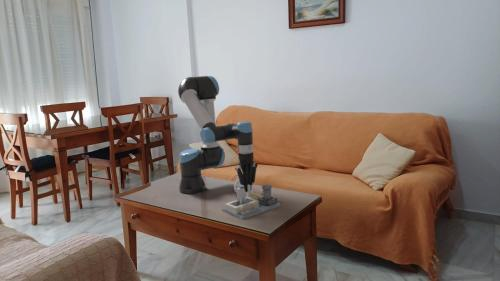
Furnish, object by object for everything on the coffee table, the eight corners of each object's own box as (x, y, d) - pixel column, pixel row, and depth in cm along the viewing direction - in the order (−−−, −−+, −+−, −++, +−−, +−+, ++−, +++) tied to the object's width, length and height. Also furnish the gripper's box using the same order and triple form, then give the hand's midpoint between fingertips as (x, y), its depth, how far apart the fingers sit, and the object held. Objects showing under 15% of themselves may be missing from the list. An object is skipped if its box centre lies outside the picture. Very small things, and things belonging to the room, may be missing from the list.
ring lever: (243, 197, 200) (243, 193, 199) (253, 194, 204) (253, 190, 203) (266, 206, 185) (266, 201, 185) (277, 202, 190) (277, 197, 189)
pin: (236, 208, 186) (234, 188, 184) (242, 205, 188) (240, 186, 187) (241, 209, 183) (239, 189, 181) (247, 207, 185) (246, 187, 184)
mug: (240, 198, 202) (238, 180, 201) (229, 195, 208) (228, 177, 206) (255, 193, 211) (255, 175, 209) (245, 190, 216) (244, 172, 215)
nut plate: (222, 210, 187) (220, 191, 185) (259, 198, 201) (258, 180, 200) (242, 219, 174) (240, 198, 173) (280, 205, 189) (279, 186, 187)
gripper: (239, 155, 185) (242, 202, 189) (260, 151, 193) (262, 195, 197) (231, 153, 191) (233, 198, 195) (251, 149, 199) (253, 192, 203)
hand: (248, 197), depth 196 cm, fingers closed
